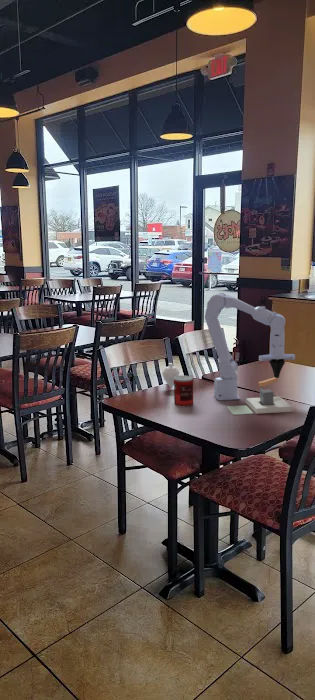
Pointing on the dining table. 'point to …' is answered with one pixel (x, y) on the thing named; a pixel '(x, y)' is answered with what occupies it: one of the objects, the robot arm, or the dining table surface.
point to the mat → (239, 410)
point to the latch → (267, 382)
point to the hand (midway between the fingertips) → (276, 377)
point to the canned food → (183, 390)
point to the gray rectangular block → (266, 397)
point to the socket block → (277, 406)
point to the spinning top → (170, 374)
